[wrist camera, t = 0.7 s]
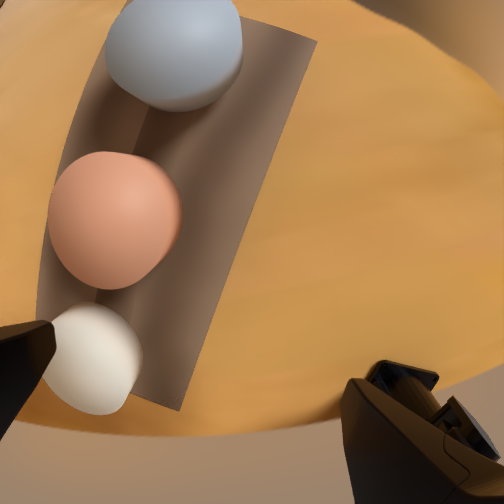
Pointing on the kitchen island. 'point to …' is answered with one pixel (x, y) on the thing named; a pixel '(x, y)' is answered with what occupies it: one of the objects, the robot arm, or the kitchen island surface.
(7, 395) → the robot arm
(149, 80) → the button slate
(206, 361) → the kitchen island surface
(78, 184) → the peach rounded lump
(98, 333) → the cream white rounded ball
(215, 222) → the button board
